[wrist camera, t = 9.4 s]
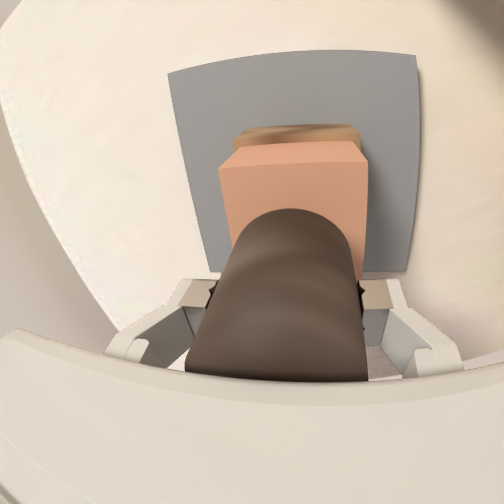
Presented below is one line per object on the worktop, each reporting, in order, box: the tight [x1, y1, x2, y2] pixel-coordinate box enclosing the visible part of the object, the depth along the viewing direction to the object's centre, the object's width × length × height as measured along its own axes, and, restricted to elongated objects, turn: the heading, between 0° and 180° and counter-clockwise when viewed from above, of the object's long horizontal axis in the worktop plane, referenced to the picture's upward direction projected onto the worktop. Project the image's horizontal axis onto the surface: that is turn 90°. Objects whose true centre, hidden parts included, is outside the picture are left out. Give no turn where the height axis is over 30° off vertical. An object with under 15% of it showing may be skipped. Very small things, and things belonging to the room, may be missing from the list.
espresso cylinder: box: [185, 208, 368, 383], centre depth 10 cm, size 5×5×6 cm
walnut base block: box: [232, 123, 361, 153], centre depth 20 cm, size 8×8×5 cm
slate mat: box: [168, 50, 420, 272], centre depth 23 cm, size 20×20×2 cm
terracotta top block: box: [218, 141, 368, 282], centre depth 16 cm, size 7×7×5 cm
